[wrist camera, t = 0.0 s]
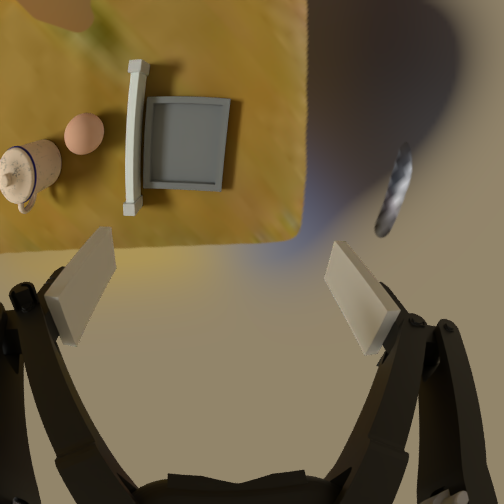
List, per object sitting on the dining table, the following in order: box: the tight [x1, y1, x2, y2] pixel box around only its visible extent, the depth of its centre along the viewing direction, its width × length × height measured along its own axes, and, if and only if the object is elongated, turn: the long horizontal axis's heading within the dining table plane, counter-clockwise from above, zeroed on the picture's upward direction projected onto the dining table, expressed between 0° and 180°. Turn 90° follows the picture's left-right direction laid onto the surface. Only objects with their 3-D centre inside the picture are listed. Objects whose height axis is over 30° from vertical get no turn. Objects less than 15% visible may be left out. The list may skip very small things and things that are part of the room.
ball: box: [64, 113, 104, 155], centre depth 32 cm, size 6×6×6 cm
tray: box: [143, 96, 231, 192], centre depth 37 cm, size 14×12×2 cm
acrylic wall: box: [123, 59, 150, 216], centre depth 34 cm, size 23×2×5 cm, turn 173°
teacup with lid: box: [0, 140, 61, 214], centre depth 31 cm, size 12×9×12 cm
